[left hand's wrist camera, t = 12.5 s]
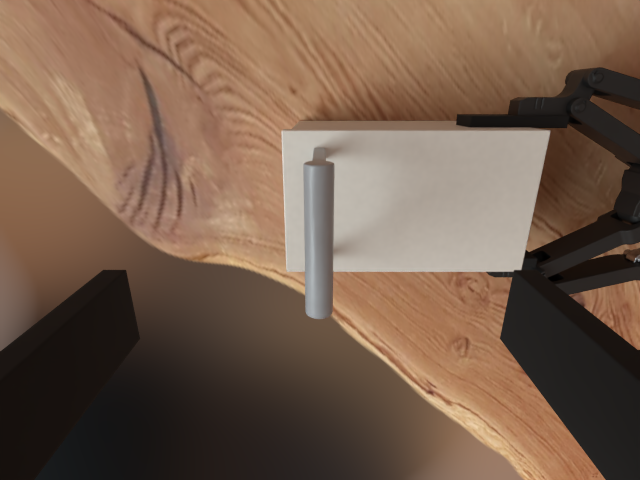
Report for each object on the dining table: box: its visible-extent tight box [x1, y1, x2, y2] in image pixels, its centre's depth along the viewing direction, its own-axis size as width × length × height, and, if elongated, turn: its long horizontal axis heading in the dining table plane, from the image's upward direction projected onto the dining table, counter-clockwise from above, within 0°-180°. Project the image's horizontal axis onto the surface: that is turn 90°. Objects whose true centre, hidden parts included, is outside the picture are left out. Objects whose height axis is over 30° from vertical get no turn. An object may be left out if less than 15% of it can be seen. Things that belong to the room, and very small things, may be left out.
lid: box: [282, 129, 551, 319], centre depth 21 cm, size 16×10×8 cm, turn 90°
